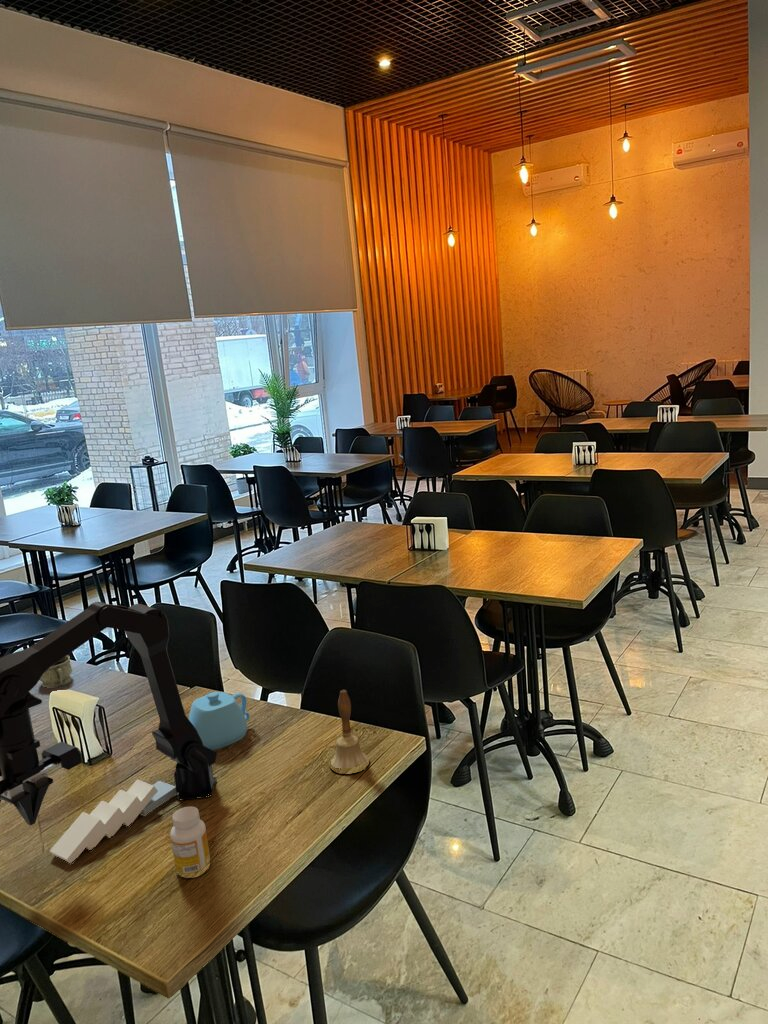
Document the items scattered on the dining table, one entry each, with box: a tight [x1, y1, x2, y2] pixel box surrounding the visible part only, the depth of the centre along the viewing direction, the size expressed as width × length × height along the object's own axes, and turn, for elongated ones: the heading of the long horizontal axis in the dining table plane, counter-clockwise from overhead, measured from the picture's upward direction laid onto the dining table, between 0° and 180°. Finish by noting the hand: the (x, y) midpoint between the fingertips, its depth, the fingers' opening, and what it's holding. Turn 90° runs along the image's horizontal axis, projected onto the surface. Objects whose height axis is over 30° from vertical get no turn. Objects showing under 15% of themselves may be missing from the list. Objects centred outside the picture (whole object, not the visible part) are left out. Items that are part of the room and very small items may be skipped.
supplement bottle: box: [169, 806, 211, 874], centre depth 126 cm, size 6×6×10 cm
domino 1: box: [49, 811, 105, 864], centre depth 135 cm, size 2×5×8 cm
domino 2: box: [86, 800, 123, 851], centre depth 138 cm, size 2×5×8 cm
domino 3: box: [104, 789, 141, 839], centre depth 141 cm, size 2×5×8 cm
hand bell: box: [330, 689, 368, 769], centre depth 154 cm, size 8×8×16 cm
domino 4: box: [123, 779, 158, 827], centre depth 144 cm, size 2×5×8 cm
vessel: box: [39, 654, 73, 689], centre depth 210 cm, size 12×9×6 cm
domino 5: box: [140, 780, 178, 815], centre depth 148 cm, size 2×5×8 cm
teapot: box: [188, 691, 250, 751], centre depth 169 cm, size 13×11×18 cm
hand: (31, 823), depth 127 cm, fingers closed
